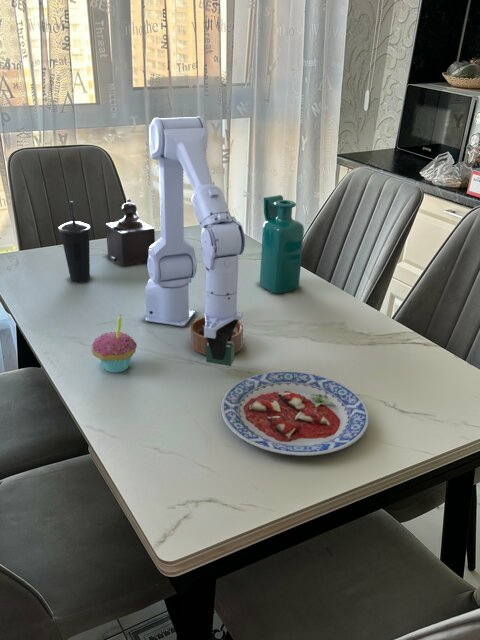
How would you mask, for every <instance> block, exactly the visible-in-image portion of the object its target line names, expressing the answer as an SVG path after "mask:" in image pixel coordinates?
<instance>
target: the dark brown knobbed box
mask: <svg viewBox="0 0 480 640" xmlns="http://www.w3.org/2000/svg"><path fill="white" fill-rule="evenodd" d="M121 210H122V213H123V214H124V217H123V218H121V219H116V221H114V222H107V223H105V236H106V237H105V238H106V247H107V257H108V258H110V259H111V260H112V261H114V263H117V264H118V265H121V266H122V267H129V266H135V265H141V264H146V263H147V261H148V256H149V247H150V246H151V245H152V244H153V243H155V242H156V231H155V230H156V229H155V228H154V227H153V226H151V225H150V224H148V223H146V222H144V221H142V220H141V219H140V214H139V213H138V208H137V205H136V204H135V203H133V202H132V200H131V199H130V198H127V199H126V203H123V204H122V206H121ZM134 216H135V217H134Z"/></svg>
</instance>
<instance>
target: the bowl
mask: <svg viewBox="0 0 480 640" xmlns="http://www.w3.org/2000/svg"><path fill="white" fill-rule="evenodd" d="M204 323H205V316H202V317H200V318H197V319H195V320H194V321H193V322H192V323H191V324H190V347H191V348H192V349H193V351H195V352H197V353H199V354H200V355H204V356H206V345H207V343H208V341H207V339H206V337H204V334H203V332H202V326H203V324H204ZM231 342H233V343H235V347H234V354H236V353H238V352H240V350H241V349H242V347H243V344H244V325H243V324H242V322H241V321H238V322H237V324H236V326H235V328H234V331H233V334H232V338H231Z"/></svg>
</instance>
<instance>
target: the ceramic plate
mask: <svg viewBox="0 0 480 640" xmlns="http://www.w3.org/2000/svg"><path fill="white" fill-rule="evenodd" d="M220 410H221V416H222V418H223V422H224V423H225V424H226V426H227V427H228V428H229V429H230V431H232V433H234V435H236V436H237V437H239V439H241V440H243V441H245V442H247V443H249V444H250V445H252V446H255V447H257V448H260V449H262V450H265V451H268V452H271V453H276V454H282V455H288V456H299V457H300V456H304V457H305V456H306V457H307V456H321V455H327V454H330V453H334V452H338V451H341V450H343V449H345V448H348V447H349V446H352V445H353V444H354V443H356V442H357V441H359V440H360V438H361V437H362V436H364V434H365V432H366V430H367V428H368V425H369V422H370V421H369V419H370V418H369V412H368V409H367V407H366V405H365V403H364V401H363V400H362V399H361V398H360V397H359V396H358V395H357V394H356V393H355V392H354V391H353V390H351V389H350V388H348V387H347V386H345V385H343V384H341V383H339V382H337V381H335V380H333V379H330V378H327V377H324V376H320V375H317V374H313V373H307V372H299V371H272V372H271V371H270V372H266V373H260V374H255V375H253V376H249V377H248V378H245V379H242V380H240V381H239V382H237V383H236V384H234V385H232V386H231V387H230V388H229V389H228V390H227V392H225V394H224V396H223V398H222V401H221V405H220Z"/></svg>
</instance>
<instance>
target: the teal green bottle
mask: <svg viewBox="0 0 480 640" xmlns="http://www.w3.org/2000/svg"><path fill="white" fill-rule="evenodd" d="M296 206H297V203H296V202H295V201H293V200H288V199H284V196H283V195H282V194H279V195H278V194H277V195H272V196H265V197H263V215H264V220H265V221H264V223H263V225H262V233H261V235H262V236H261V253H260V268H259V269H260V271H259V272H260V273H259V285H260V286H261V287H262V288H264V289H266V290H268V291H269V292H271V293H273V294H283V293H288V292H291V291H296V290H298V288H299V287H300V277H301V266H302V257H303V256H302V255H303V246H304V235H305V226H304V224H302V222H300V221H298V220H295V219H293V208H295V207H296Z"/></svg>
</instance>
